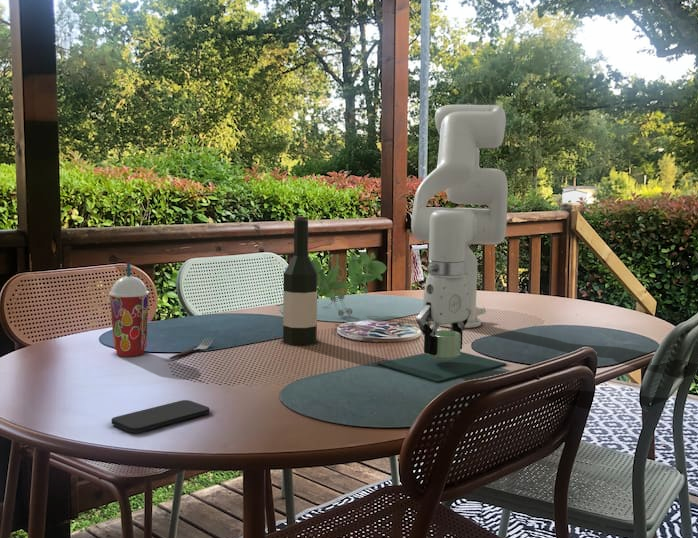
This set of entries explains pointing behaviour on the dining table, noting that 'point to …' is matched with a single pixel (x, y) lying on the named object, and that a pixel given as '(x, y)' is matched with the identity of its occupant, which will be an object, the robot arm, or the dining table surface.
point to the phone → (159, 416)
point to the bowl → (447, 345)
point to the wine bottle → (300, 291)
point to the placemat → (441, 366)
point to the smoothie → (129, 315)
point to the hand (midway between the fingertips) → (443, 350)
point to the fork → (194, 349)
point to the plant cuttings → (353, 268)
